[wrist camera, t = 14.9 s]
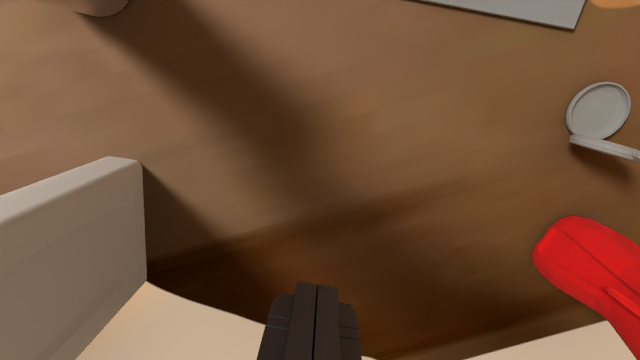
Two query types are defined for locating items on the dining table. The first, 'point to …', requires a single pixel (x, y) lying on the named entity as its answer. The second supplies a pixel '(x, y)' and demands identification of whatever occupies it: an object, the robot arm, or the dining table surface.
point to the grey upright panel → (69, 258)
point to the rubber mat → (525, 10)
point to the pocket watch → (600, 119)
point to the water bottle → (595, 272)
